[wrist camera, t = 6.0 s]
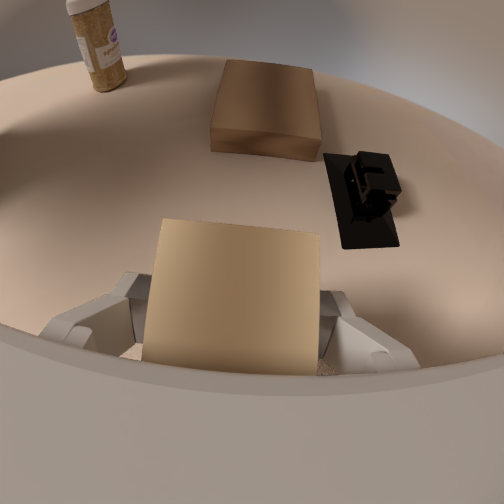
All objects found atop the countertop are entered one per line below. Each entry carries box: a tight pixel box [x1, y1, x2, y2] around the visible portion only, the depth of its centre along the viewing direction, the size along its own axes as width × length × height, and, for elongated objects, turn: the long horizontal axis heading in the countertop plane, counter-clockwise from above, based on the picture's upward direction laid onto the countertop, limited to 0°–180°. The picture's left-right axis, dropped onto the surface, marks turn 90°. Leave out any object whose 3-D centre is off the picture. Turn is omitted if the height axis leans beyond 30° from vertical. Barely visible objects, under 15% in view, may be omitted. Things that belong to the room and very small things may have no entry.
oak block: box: [141, 218, 320, 376], centre depth 11 cm, size 4×4×7 cm
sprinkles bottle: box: [66, 0, 127, 92], centre depth 21 cm, size 5×5×13 cm
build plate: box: [323, 151, 402, 250], centre depth 22 cm, size 12×7×5 cm, turn 3°
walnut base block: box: [210, 60, 322, 162], centre depth 25 cm, size 9×11×3 cm
